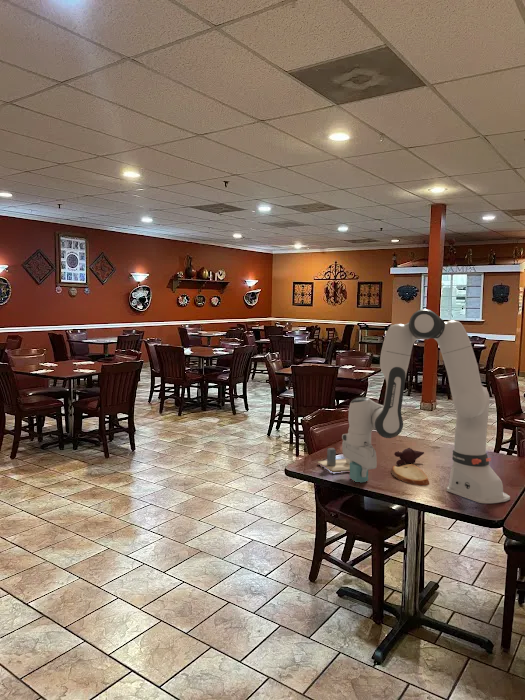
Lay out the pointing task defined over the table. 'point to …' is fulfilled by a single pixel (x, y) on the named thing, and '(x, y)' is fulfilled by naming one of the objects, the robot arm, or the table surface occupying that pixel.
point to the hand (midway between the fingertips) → (358, 474)
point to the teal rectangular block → (357, 473)
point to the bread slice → (410, 474)
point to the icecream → (407, 456)
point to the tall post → (331, 457)
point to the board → (337, 465)
